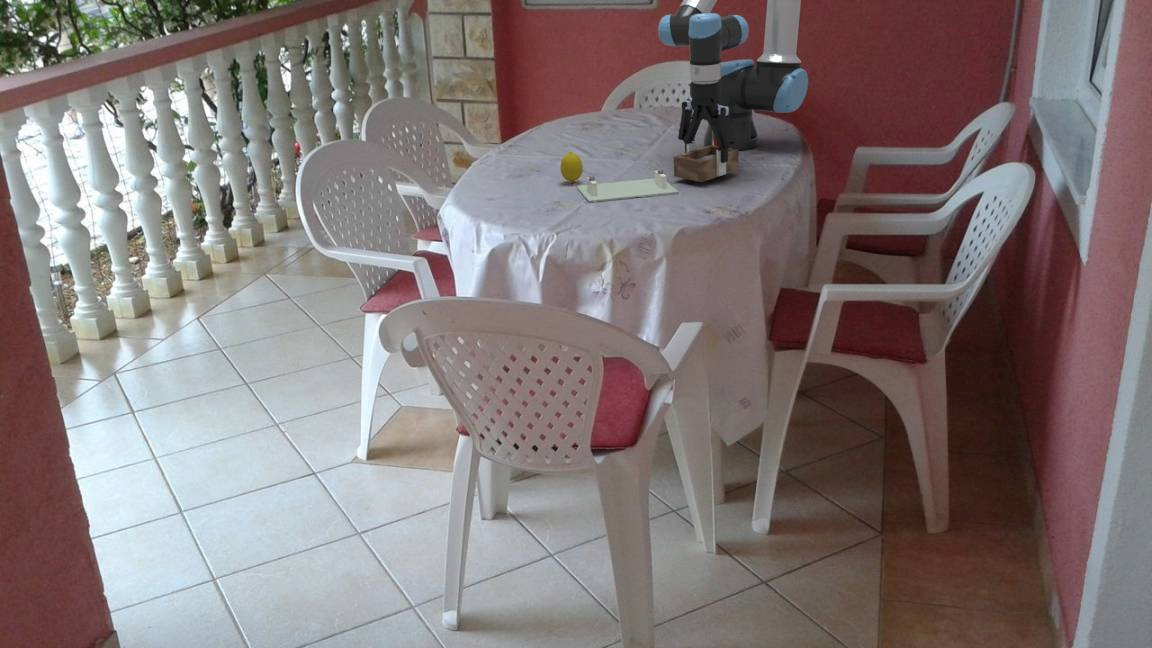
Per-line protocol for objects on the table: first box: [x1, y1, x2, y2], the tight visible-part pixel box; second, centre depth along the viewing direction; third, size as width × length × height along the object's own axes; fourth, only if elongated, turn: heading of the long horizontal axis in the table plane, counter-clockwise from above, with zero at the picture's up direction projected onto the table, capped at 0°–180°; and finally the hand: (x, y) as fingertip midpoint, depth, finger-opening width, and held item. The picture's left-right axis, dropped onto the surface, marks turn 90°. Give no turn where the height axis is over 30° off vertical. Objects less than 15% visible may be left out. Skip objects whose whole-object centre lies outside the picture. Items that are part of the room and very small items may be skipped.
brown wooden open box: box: [673, 145, 740, 183], centre depth 256 cm, size 14×9×5 cm, turn 132°
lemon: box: [560, 151, 584, 184], centre depth 258 cm, size 6×6×8 cm
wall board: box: [575, 169, 680, 203], centre depth 250 cm, size 22×14×4 cm, turn 102°
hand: (706, 171), depth 257 cm, fingers closed on brown wooden open box, 9 cm apart
